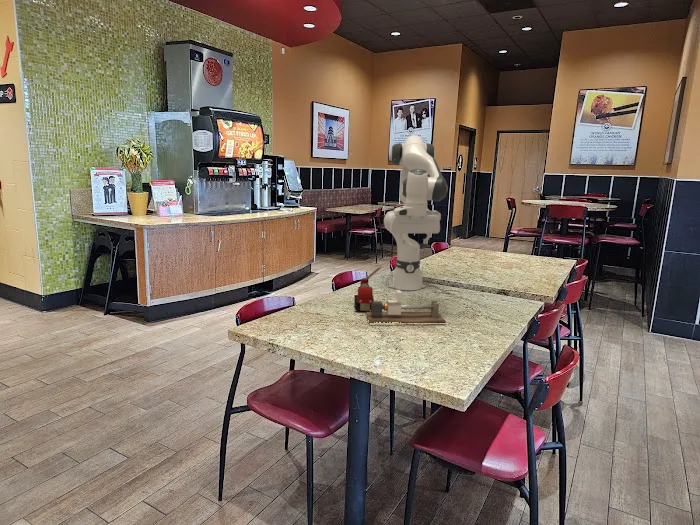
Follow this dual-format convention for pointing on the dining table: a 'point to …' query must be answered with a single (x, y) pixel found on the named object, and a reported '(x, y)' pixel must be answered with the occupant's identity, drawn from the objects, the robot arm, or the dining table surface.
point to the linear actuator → (411, 316)
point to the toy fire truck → (364, 294)
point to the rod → (378, 306)
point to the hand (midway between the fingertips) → (414, 243)
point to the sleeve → (395, 304)
